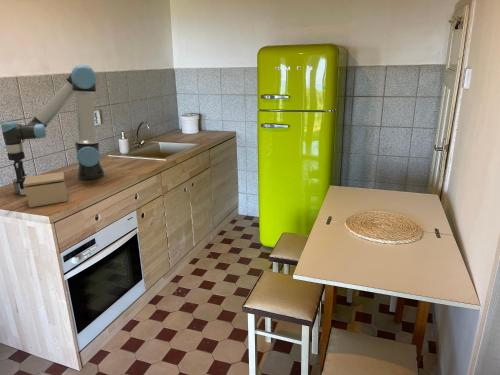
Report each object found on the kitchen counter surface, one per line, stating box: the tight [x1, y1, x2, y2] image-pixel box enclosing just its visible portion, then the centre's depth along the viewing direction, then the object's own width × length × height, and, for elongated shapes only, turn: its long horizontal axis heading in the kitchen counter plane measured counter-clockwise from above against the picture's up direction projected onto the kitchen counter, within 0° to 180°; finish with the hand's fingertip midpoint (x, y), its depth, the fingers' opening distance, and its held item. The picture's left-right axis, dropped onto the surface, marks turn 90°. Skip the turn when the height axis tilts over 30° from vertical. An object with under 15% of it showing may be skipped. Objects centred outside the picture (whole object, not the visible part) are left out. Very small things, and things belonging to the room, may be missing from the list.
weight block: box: [12, 178, 25, 195], centre depth 203 cm, size 8×5×7 cm, turn 117°
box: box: [25, 180, 69, 208], centre depth 189 cm, size 17×16×10 cm
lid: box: [24, 171, 66, 186], centre depth 187 cm, size 17×16×1 cm
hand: (24, 191), depth 204 cm, fingers open, 11 cm apart
